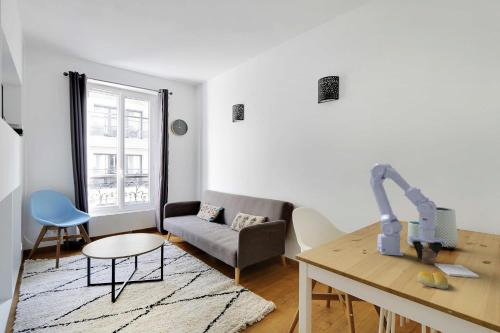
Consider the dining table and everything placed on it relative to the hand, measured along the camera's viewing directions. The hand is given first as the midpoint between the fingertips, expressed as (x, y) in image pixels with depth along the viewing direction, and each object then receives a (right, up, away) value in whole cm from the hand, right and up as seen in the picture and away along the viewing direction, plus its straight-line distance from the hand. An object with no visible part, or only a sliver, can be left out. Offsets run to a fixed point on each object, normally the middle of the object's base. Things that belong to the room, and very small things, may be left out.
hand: (426, 258), depth 108 cm
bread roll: (-12, -2, -20) cm, 23 cm away
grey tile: (+5, -1, -10) cm, 11 cm away
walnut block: (0, -1, 0) cm, 1 cm away
